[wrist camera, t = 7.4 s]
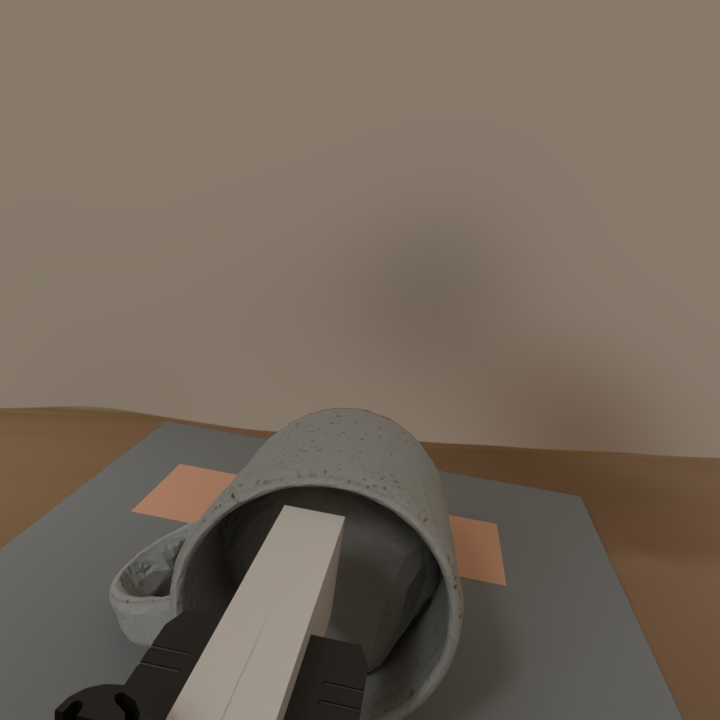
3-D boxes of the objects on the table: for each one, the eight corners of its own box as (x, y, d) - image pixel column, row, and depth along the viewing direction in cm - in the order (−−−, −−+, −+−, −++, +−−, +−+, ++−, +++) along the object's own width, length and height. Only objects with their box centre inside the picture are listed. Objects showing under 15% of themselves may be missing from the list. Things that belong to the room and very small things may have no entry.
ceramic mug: (429, 581, 24) (460, 397, 22) (439, 766, 16) (488, 506, 14) (166, 543, 25) (173, 359, 23) (52, 704, 17) (47, 444, 15)
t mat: (-910, 1266, 8) (-918, 1255, 7) (166, 423, 36) (166, 420, 36) (1319, 2141, 5) (1333, 2138, 5) (579, 499, 34) (580, 495, 34)
